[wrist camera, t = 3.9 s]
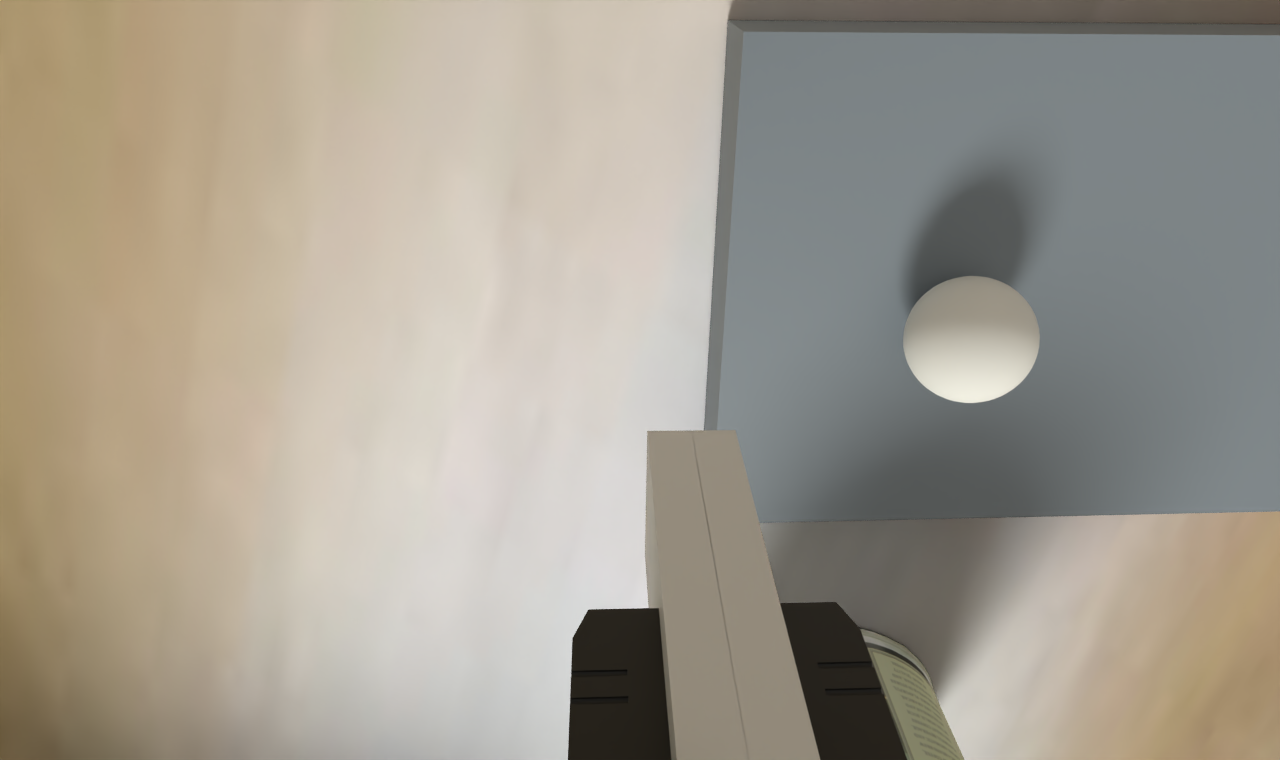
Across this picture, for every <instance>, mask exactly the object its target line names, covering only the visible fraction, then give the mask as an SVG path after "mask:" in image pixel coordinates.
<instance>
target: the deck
mask: <svg viewBox="0 0 1280 760" xmlns="http://www.w3.org/2000/svg"><path fill="white" fill-rule="evenodd" d="M963 276H982V277H988V278H992V279H995V280H998V281H1000V282H1003V283H1005V284H1007V285H1009V286H1010V287H1012V288H1013V289H1014V290H1016V291H1017V292H1018V293H1020V295H1021V296H1022V297H1023V298H1024V299H1025V300H1026V301H1027V302H1028V304H1029V305H1030V307H1031V308H1032V310H1033V312H1034V314H1035V316H1036V319H1037V323H1038V327H1039V333H1040V342H1039V350H1038V355H1037V357H1036V360H1035V363H1034V365H1033V367H1032V369H1031V370H1030V372H1029V373H1028V375H1027V376H1026V377H1025V379H1024V380H1023V381H1022V382H1021V383H1020V384H1019V385H1018V386H1016V387H1015V388H1014V389H1013V390H1011V391H1010V392H1008V393H1006V394H1004V395H1002V396H1000V397H998V398H996V399H993V400H989V401H984V402H978V403H962V402H956V401H951V400H948V399H945V398H943V397H941V396H938V395H936V394H935V393H933V392H931V391H930V390H929V389H927V388H926V387H925V386H924V385H922V384H921V383H920V382H919V380H918V379H917V378H916V377H915V375H914V374H913V372H912V371H911V369H910V367H909V365H908V363H907V360H906V357H905V353H904V348H903V334H904V328H905V324H906V321H907V318H908V316H909V314H910V312H911V310H912V308H913V307H914V305H915V304H916V302H917V301H918V300H919V299H920V298H921V297H922V296H923V295H924V294H925V293H926V292H927V291H929V290H930V289H932V288H933V287H935V286H936V285H938V284H940V283H942V282H945V281H947V280H950V279H953V278H958V277H963ZM705 430H735V431H736V435H737V439H738V442H739V446H740V450H741V454H742V458H743V462H744V466H745V470H746V473H747V477H748V481H749V485H750V489H751V493H752V497H753V501H754V504H755V508H756V512H757V516H758V520H759V523H772V522H817V521H863V520H908V519H953V518H998V517H1043V516H1088V515H1133V514H1178V513H1223V512H1268V511H1280V24H1174V23H1041V22H908V21H775V20H728V27H727V44H726V61H725V78H724V96H723V113H722V130H721V147H720V165H719V182H718V199H717V216H716V234H715V251H714V268H713V285H712V303H711V320H710V337H709V354H708V372H707V389H706V406H705V423H704V431H705Z"/></svg>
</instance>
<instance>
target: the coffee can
mask: <svg viewBox="0 0 1280 760" xmlns="http://www.w3.org/2000/svg"><path fill="white" fill-rule="evenodd" d="M860 630H861V632H862V635H863V638H864V641H865V644H866V646H867V649H868V652H869V655H870V657H871V660H872V667H874V669H875V671H876V674H877V677H878V680H879V682H880V685H881V692H882V694H884V696H885V699H886V702H887V705H888V707H889V710H890V713H891V716H892V719H893V721H894V724H895V727H896V730H897V732H898V735H899V738H900V741H901V744H902V746H903V749H904V752H905V755H906V757H907V760H964V758H963V756H962V754H961V751H960V749H959V747H958V745H957V742H956V740H955V738H954V736H953V734H952V731H951V729H950V727H949V725H948V723H947V720H946V718H945V716H944V714H943V712H942V709H941V707H940V705H939V703H938V700H937V697H936V695H935V692H934V690H933V685H932V682H931V679H930V677H929V674H928V673H927V671H926V669H925V668H924V666H923V665H922V663H921V662H920V661H919V660H918V659H917V657H916V656H914V655H913V654H912V653H911V652H910V651H909V650H908V649H907V648H906V647H905V646H903V645H901V644H899V643H897V642H895V641H893V640H891V639H889V638H887V637H886V636H882V635H879V634H877V633H875V632H872V631H869V630H864V629H860Z"/></svg>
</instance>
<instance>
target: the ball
mask: <svg viewBox="0 0 1280 760" xmlns="http://www.w3.org/2000/svg"><path fill="white" fill-rule="evenodd" d="M1039 342H1040V333H1039V327H1038V323H1037V319H1036V316H1035V314H1034V312H1033V310H1032V308H1031V307H1030V305H1029V304H1028V302H1027V301H1026V300H1025V299H1024V298H1023V297H1022V296H1021V295H1020V293H1018V292H1017V291H1016V290H1014V289H1013V288H1012V287H1010V286H1009V285H1007V284H1005V283H1003V282H1000V281H998V280H995V279H992V278H988V277H982V276H963V277H958V278H953V279H950V280H947V281H945V282H942V283H940V284H938V285H936V286H935V287H933V288H932V289H930V290H929V291H927V292H926V293H925V294H924V295H923V296H922V297H921V298H920V299H919V300H918V301H917V302H916V304H915V305H914V307H913V308H912V310H911V312H910V314H909V316H908V318H907V321H906V324H905V328H904V334H903V348H904V353H905V357H906V360H907V363H908V365H909V367H910V369H911V371H912V372H913V374H914V375H915V377H916V378H917V379H918V380H919V382H920V383H921V384H922V385H924V386H925V387H926V388H927V389H929V390H930V391H931V392H933V393H935V394H936V395H938V396H941V397H943V398H945V399H948V400H951V401H956V402H962V403H978V402H984V401H989V400H993V399H996V398H998V397H1000V396H1002V395H1004V394H1006V393H1008V392H1010V391H1011V390H1013V389H1014V388H1015V387H1016V386H1018V385H1019V384H1020V383H1021V382H1022V381H1023V380H1024V379H1025V377H1026V376H1027V375H1028V373H1029V372H1030V370H1031V369H1032V367H1033V365H1034V363H1035V360H1036V357H1037V355H1038V350H1039Z"/></svg>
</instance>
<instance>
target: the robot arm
mask: <svg viewBox="0 0 1280 760" xmlns="http://www.w3.org/2000/svg"><path fill="white" fill-rule="evenodd" d="M645 561H646V576H647V590H648V605H649V608H642V609H596V610H588V611H587V613H586V615H585V617H584V619H583V620H582V622H581V624H580V626H579V628H578V629H577V631H576V633H575V635H574V637H573V643H572V669H571V695H570V722H569V748H568V760H907V757H906V755H905V752H904V749H903V746H902V744H901V741H900V738H899V735H898V732H897V730H896V727H895V724H894V721H893V719H892V716H891V713H890V710H889V707H888V705H887V702H886V699H885V696H884V694H882V692H881V685H880V682H879V680H878V677H877V674H876V671H875V669H874V667H872V660H871V657H870V655H869V652H868V649H867V646H866V644H865V641H864V638H863V635H862V632H861V630H860V628H859V627H858V626H857V625H856V624H855V623H854V622H853V621H852V619H851V618H850V617H849V616H848V615H847V614H846V613H845V612H844V610H843V609H842V608H841V607H840V606H839V605H838V604H837V603H836V602H822V603H780V601H779V597H778V594H777V590H776V586H775V582H774V578H773V574H772V570H771V566H770V563H769V559H768V555H767V551H766V547H765V543H764V539H763V535H762V532H761V528H760V524H759V520H758V516H757V512H756V508H755V504H754V501H753V497H752V493H751V489H750V485H749V481H748V477H747V473H746V470H745V466H744V462H743V458H742V454H741V450H740V446H739V442H738V439H737V435H736V431H735V430H705V431H647V479H646V530H645Z"/></svg>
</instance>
